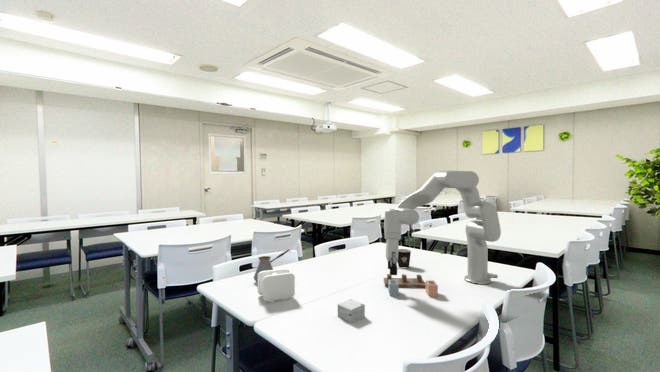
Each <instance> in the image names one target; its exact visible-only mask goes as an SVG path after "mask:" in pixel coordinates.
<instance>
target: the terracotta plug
mask: <svg viewBox="0 0 660 372" xmlns="http://www.w3.org/2000/svg"><path fill="white" fill-rule="evenodd" d="M425 284H426V288H425V293H426V295H427V296H431V297H430V298H438V296H439V294H438V292H439V290H438V288H439V287H438V284H437V282H436V281H435V280H428V279H427V280H425ZM433 296H434V297H433ZM436 296H437V297H436Z"/></svg>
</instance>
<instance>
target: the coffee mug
mask: <svg viewBox="0 0 660 372" xmlns="http://www.w3.org/2000/svg"><path fill="white" fill-rule="evenodd" d="M411 252H412V251H411V250H410V249H407V248H398V261H397V267H398V266H399V267H398V268H400V267H409V268H410V262H411V254H412V253H411Z"/></svg>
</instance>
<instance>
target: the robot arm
mask: <svg viewBox="0 0 660 372" xmlns="http://www.w3.org/2000/svg"><path fill="white" fill-rule="evenodd" d="M479 178H480V177H479V176H478V174H477V173H476V172H475V171H473V170H468V171H467V170H440V171H436V172H434V173H433V174H432V175H431V176H430V177H429V178H428V179H427V180H426V181H425V182H424V183H423V185H422V186H421V187H419V189H418V190H417V191H415V192H413V193H412V194H410V195H408V196H406V197H405V198H404V199H403V200H402V201H401V202H399V204H397V206H396V207H395V208H388V209H387V208H386V209H385V211H384V239H386V242H385V258H386V261H387V270H389V274H390V275H391V276H397V275H398V263H397V261H398V249H399V246H400V245H399V244H400V243H399V241H400V240H402V225H408V226H413V225H416V224H417V223H418V222H419V220H420V214H419V212H418V211H417V210H415V209H417V208H418V207H421V206H426V205H428V204H431V203H432V202H434V201H435V200H436V199H437V197H438V196H439V195H440V194H441V193H442V192H443V191H444V190H445V189H455V190H457V191H458V193H459V194H460V196H461V197H460V198H461V200H462V205H463V210H464V214H465V216H466V217H467V218H469V219H472V220H470V221H468V222H467V224H466V225H465V234H466V240H467V274H466V275H465V276H464V281H466V280H467V281H466V282H468V281H469V282H468V283H471V282H472V284H475V283H478V284H477V285H489V284H491V283H492V279H498V278H499V277H498V276H499V275H498V274H496V273H495V274H494V273H490V272H489V271H488V267H489V266H488V265H489V263H488V262H489V261H488V258H489V257H488V256H489V254H488V253H489V252H488V251H489V249H488V247H489V246H488V244H487V242H493V243H495V242H497V241H499V240H500V238H501V234H502V229H501V225H500V220H499V215H498V214H499V213H498V210H497V207H496V206H495V204H494V203H492V202H489V201H483V200H482V199H481V197H480V193H479V190H478V188H477V186H478V184H479V183H480V179H479ZM488 283H489V284H488Z"/></svg>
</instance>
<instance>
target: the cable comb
mask: <svg viewBox="0 0 660 372" xmlns="http://www.w3.org/2000/svg"><path fill="white" fill-rule="evenodd" d="M388 280H397V282H398V284H399V288H412V287H414V288H415V289H419V288H420V289H426V281H424V279H423V276H422V275H421V274H416V277H409V278H408V275H407V274H405V273H404V274H403V273H402V274H401V277H393V275H390V273H387V274H386V277H383V284H384V287H385V288H388Z"/></svg>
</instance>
